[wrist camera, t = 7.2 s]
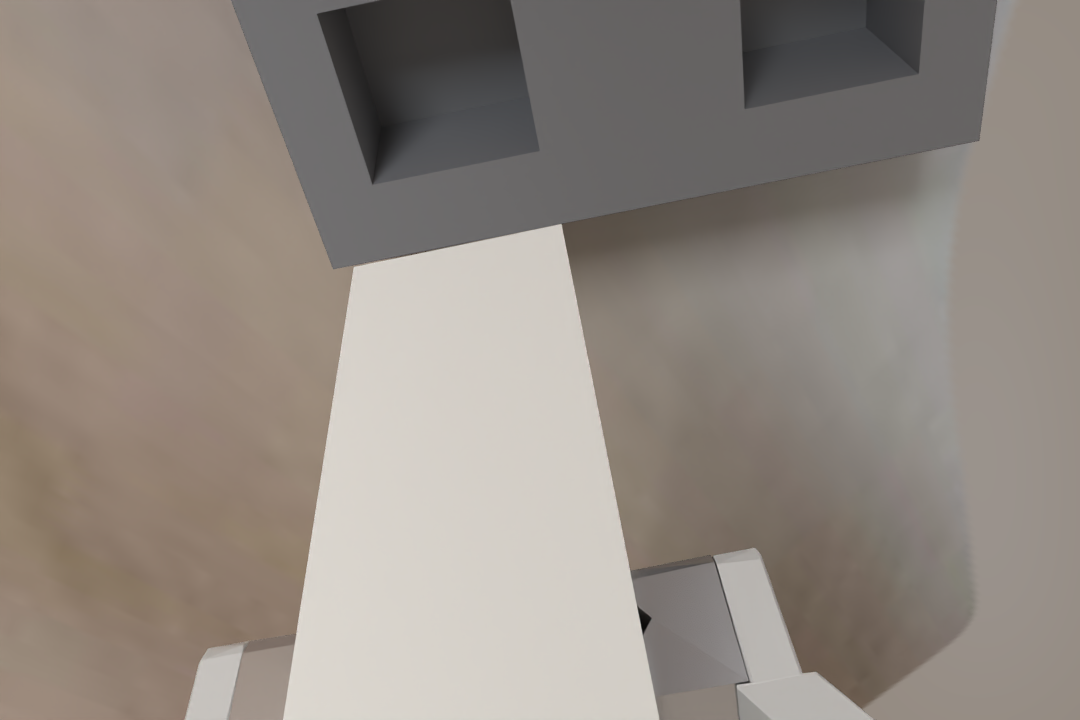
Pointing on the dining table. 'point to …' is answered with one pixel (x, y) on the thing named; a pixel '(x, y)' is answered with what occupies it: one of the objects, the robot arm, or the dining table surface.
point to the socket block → (595, 103)
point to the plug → (468, 505)
